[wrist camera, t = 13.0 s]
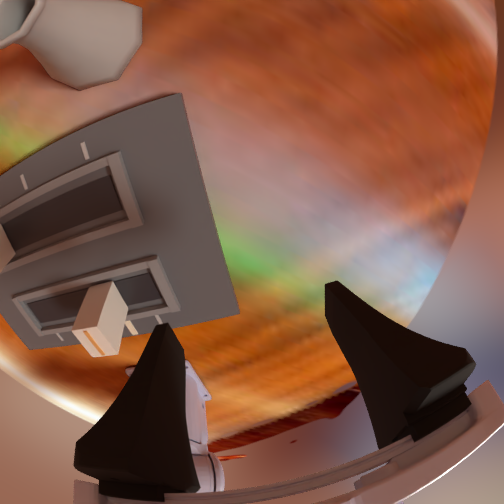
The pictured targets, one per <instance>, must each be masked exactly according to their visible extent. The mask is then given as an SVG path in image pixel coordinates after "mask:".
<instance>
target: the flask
mask: <svg viewBox="0 0 504 504" xmlns="http://www.w3.org/2000/svg"><path fill="white" fill-rule="evenodd" d="M12 43H16V44H19V45H21V46H23V47H25V48H27V49H29V51H30V52H31V53H32V54H33V55H34V56H35V58H36V59H37V60H38V61H39V62H40V63H41V65H42V66H43V67H44V69H45V70H46V72H47V73H48V74H49V76H50V77H51V78H52V79H55V80H57V81H59V82H62V83H64V84H66V85H69V86H71V87H73V88H75V89H78V90H80V91H81V90H84V89H87V88H90V87H93V86H97V85H100V84H104V83H108V82H111V81H115V80H118V79H119V78H120V76H121V74H122V73H123V71H124V70H125V68H126V66H127V65H128V63H129V62H130V60H131V59H132V57H133V56H134V54H135V53H136V51H137V50H138V48H139V47H140V45H141V44H142V8H141V7H139V6H136V5H133V4H130V3H127V2H124V1H121V0H0V49H3V48H6V47H7V46H9V45H11V44H12Z"/></svg>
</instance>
